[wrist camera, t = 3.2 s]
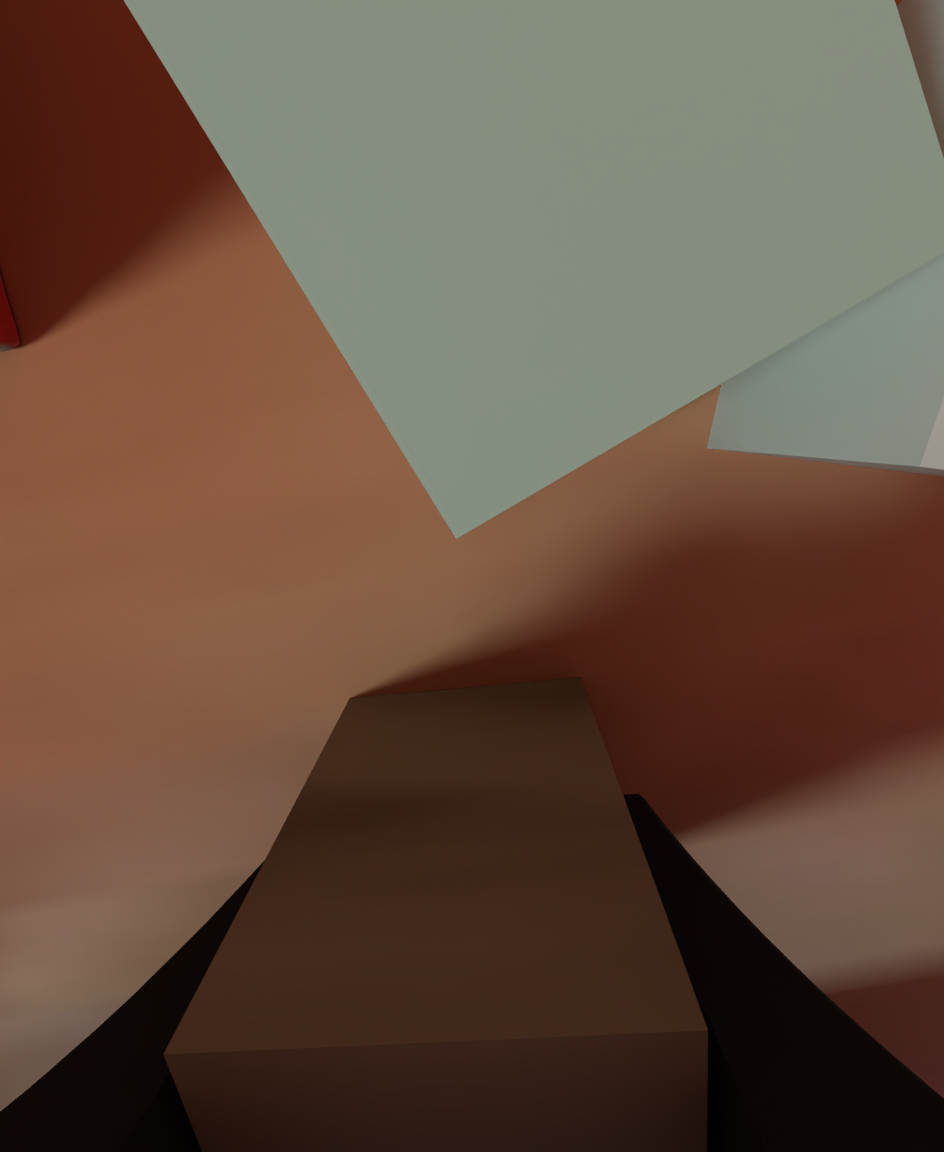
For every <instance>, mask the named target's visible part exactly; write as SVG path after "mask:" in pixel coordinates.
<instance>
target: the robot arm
mask: <svg viewBox="0 0 944 1152" xmlns="http://www.w3.org/2000/svg"><path fill="white" fill-rule="evenodd" d="M623 796H624V799H625V802H626V805H627V807H628V810H629V813H630V816H631V819H632V821H633V824H634V827H635V830H636V832H637V835H638V838H639V841H640V843H641V846H642V849H643V852H644V854H645V857H646V860H647V863H648V866H649V868H650V871H651V874H652V877H653V879H654V882H655V885H656V888H657V890H658V893H659V896H660V899H661V901H662V904H663V907H664V910H665V912H666V915H667V918H668V921H669V924H670V926H671V929H672V932H673V935H674V937H675V940H676V943H677V946H678V948H679V951H680V954H681V957H682V959H683V962H684V965H685V968H686V971H687V973H688V976H689V979H690V982H691V984H692V987H693V990H694V993H695V995H696V998H697V1001H698V1004H699V1006H700V1009H701V1012H702V1015H703V1018H704V1020H705V1023H706V1026H707V1029H708V1096H707V1152H944V1098H943V1097H941V1096H940V1095H939V1094H938V1093H937V1092H935V1091H934V1090H933V1089H932V1088H931V1087H930V1086H928V1085H927V1084H926V1083H925V1082H924V1081H923V1080H921V1079H920V1078H919V1077H918V1076H917V1075H916V1074H914V1073H913V1072H912V1071H911V1070H910V1069H909V1068H907V1067H906V1066H905V1065H904V1064H903V1063H901V1062H900V1061H899V1060H898V1059H897V1058H896V1057H894V1056H893V1055H892V1054H891V1053H890V1052H889V1051H887V1050H886V1049H885V1048H884V1047H883V1046H882V1045H881V1044H879V1043H878V1042H877V1041H876V1040H875V1039H874V1038H873V1037H872V1036H870V1035H869V1034H868V1033H867V1032H866V1031H865V1030H864V1029H863V1028H862V1027H860V1026H859V1025H858V1024H857V1023H856V1022H855V1021H854V1020H853V1019H851V1018H850V1017H849V1016H848V1015H847V1014H846V1013H845V1012H844V1011H843V1010H841V1009H840V1008H839V1007H838V1006H837V1005H836V1004H835V1003H834V1002H833V1001H832V1000H831V999H830V998H828V997H827V996H826V995H825V994H824V993H823V992H822V991H821V990H820V989H819V988H818V987H817V986H816V985H815V984H813V983H812V982H811V981H810V980H809V979H808V978H807V977H806V976H805V975H804V974H803V973H802V972H801V971H800V970H799V969H798V968H797V967H796V966H795V965H794V964H793V963H792V962H791V961H790V960H789V959H788V958H787V957H786V956H785V955H784V954H783V953H782V952H781V951H780V950H779V949H778V948H777V947H776V946H775V945H774V944H773V943H772V942H771V941H770V940H769V939H768V938H767V937H766V936H765V935H764V934H762V932H761V931H760V930H759V929H758V928H757V927H756V926H755V925H754V924H753V923H752V922H751V921H750V920H749V919H748V918H747V917H746V916H745V915H744V914H743V913H742V912H741V911H740V910H739V909H738V907H737V906H736V905H735V904H734V903H733V902H732V901H731V900H730V899H729V898H728V897H727V895H726V894H725V893H724V892H723V891H722V890H721V889H720V888H719V887H718V886H717V885H716V884H715V882H714V881H713V880H712V879H711V878H710V877H709V876H708V875H707V874H706V873H705V871H704V870H703V869H702V868H701V867H700V866H699V865H698V864H697V862H696V861H695V860H694V859H693V858H692V857H691V855H690V854H689V853H688V852H687V851H686V850H685V848H684V847H683V846H682V845H681V844H680V843H679V841H678V840H677V839H676V838H675V837H674V835H673V834H672V833H671V832H670V830H669V829H668V828H667V827H666V826H665V824H664V823H663V822H662V821H661V819H660V818H659V817H658V816H657V814H656V813H655V812H654V810H653V809H652V808H651V807H650V805H649V804H648V803H647V801H646V800H645V799H644V798H643V797H642V796H640V795H639V794H629V795H623ZM263 863H264V862H263ZM263 863H262V864H261V865H260V866H259V867H258V868H257V869H256V870H255V871H254V872H253V874H252V875H251V876H250V877H249V878H248V879H247V880H246V881H245V882H244V883H243V884H242V885H241V886H240V888H239V889H238V890H237V891H236V892H235V893H234V894H233V895H232V896H231V897H230V898H229V899H228V900H227V901H226V902H225V903H224V905H223V906H222V907H221V908H220V909H219V910H218V911H217V912H216V913H215V914H214V915H213V916H212V917H211V918H210V919H209V920H208V921H207V923H206V924H205V925H204V926H203V927H202V928H201V929H200V930H199V931H198V932H197V933H196V934H195V935H194V936H193V937H192V938H191V939H190V940H189V941H188V942H187V943H186V944H185V945H184V946H183V947H182V948H181V949H180V950H179V951H178V952H176V953H175V954H174V955H173V956H172V957H171V958H170V959H169V960H168V961H167V962H166V963H165V964H164V965H163V966H162V967H161V968H160V969H159V970H158V971H157V972H156V973H155V974H154V975H153V976H152V977H151V978H150V979H149V980H148V981H147V982H146V983H145V984H144V985H143V986H142V987H141V988H140V989H139V990H138V991H137V992H136V993H135V994H134V995H133V996H132V997H131V998H130V999H129V1000H128V1001H127V1002H125V1003H124V1004H123V1005H122V1006H121V1007H120V1008H119V1009H118V1010H117V1011H116V1012H115V1013H114V1014H113V1015H111V1016H110V1017H109V1018H108V1019H107V1020H106V1021H105V1022H104V1023H103V1024H102V1025H101V1026H99V1027H98V1028H97V1029H96V1030H95V1031H94V1032H93V1033H92V1034H91V1035H89V1036H88V1037H87V1038H86V1039H85V1040H84V1041H83V1042H82V1043H80V1044H79V1045H78V1046H77V1047H76V1048H75V1049H74V1050H72V1051H71V1052H70V1053H69V1054H68V1055H67V1056H66V1057H64V1058H63V1059H62V1060H61V1061H60V1062H59V1063H58V1064H57V1065H55V1066H54V1067H53V1068H52V1069H51V1070H50V1071H49V1072H47V1073H46V1074H45V1075H44V1076H43V1077H42V1078H40V1079H39V1080H38V1081H37V1082H36V1083H35V1084H33V1085H32V1086H31V1087H30V1088H29V1089H28V1090H26V1091H25V1092H24V1093H23V1094H22V1095H20V1096H19V1097H18V1098H17V1099H15V1100H14V1101H13V1102H12V1103H10V1104H9V1105H8V1106H7V1107H5V1108H4V1109H3V1110H2V1111H1V1112H0V1152H202V1150H201V1148H200V1145H199V1143H198V1140H197V1138H196V1135H195V1133H194V1130H193V1128H192V1125H191V1123H190V1120H189V1118H188V1115H187V1113H186V1110H185V1108H184V1105H183V1103H182V1100H181V1098H180V1095H179V1092H178V1090H177V1087H176V1085H175V1082H174V1080H173V1077H172V1075H171V1072H170V1070H169V1067H168V1065H167V1062H166V1060H165V1057H164V1055H163V1054H164V1052H165V1050H166V1048H167V1046H168V1045H169V1043H170V1041H171V1039H172V1037H173V1035H174V1033H175V1031H176V1029H177V1027H178V1025H179V1024H180V1022H181V1020H182V1018H183V1016H184V1014H185V1012H186V1010H187V1008H188V1006H189V1004H190V1003H191V1001H192V999H193V997H194V995H195V993H196V991H197V989H198V987H199V985H200V983H201V982H202V980H203V978H204V976H205V974H206V972H207V970H208V968H209V966H210V964H211V962H212V961H213V959H214V957H215V955H216V953H217V951H218V949H219V947H220V945H221V943H222V941H223V940H224V938H225V936H226V934H227V932H228V930H229V928H230V926H231V924H232V922H233V920H234V918H235V917H236V915H237V913H238V911H239V909H240V907H241V905H242V903H243V901H244V899H245V897H246V896H247V894H248V892H249V890H250V888H251V886H252V884H253V882H254V880H255V878H256V876H257V875H258V873H259V871H260V869H261V867H262V865H263Z"/></svg>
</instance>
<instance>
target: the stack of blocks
mask: <svg viewBox="0 0 944 1152" xmlns="http://www.w3.org/2000/svg"><path fill="white" fill-rule="evenodd" d="M19 344H20V342H19V337H18V332H17V328H16V325H15V322H14V319H13V316H12V313H11V309H10V306H9V303H8V300H7V296H6V293H5V289H4V286H3V282H2V278H1V275H0V351H6V350H10V349H12V348H14V347H16V346H18V345H19Z"/></svg>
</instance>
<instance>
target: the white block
mask: <svg viewBox="0 0 944 1152" xmlns="http://www.w3.org/2000/svg"><path fill="white" fill-rule="evenodd" d="M897 9H898V13H899V16H900V19H901V22H902V26H903V29H904V32H905V35H906V38H907V42H908V45H909V48H910V51H911V55H912V58H913V61H914V64H915V67H916V71H917V74H918V77H919V80H920V84H921V87H922V90H923V93H924V97H925V100H926V103H927V106H928V109H929V113H930V116H931V119H932V122H933V126H934V129H935V132H936V135H937V139H938V142H939V145H940V148H941V151H942V155H943V158H944V0H902V1H901V2H900V3H899V4H898V5H897ZM707 448H710V449H718V450H726V451H735V452H743V453H751V454H759V455H768V456H776V457H784V458H793V459H801V460H809V461H818V462H826V463H834V464H843V465H851V466H859V467H868V468H876V469H884V470H893V471H901V472H909V473H918V474H926V475H934V476H943V477H944V254H942V255H940V256H938V257H937V258H935V259H933V260H932V261H930V262H928V263H926V264H925V265H923V266H921V267H920V268H918V269H916V270H914V271H913V272H911V273H909V274H908V275H906V276H904V277H903V278H901V279H899V280H897V281H896V282H894V283H892V284H891V285H889V286H887V287H885V288H884V289H882V290H880V291H879V292H877V293H875V294H874V295H872V296H870V297H868V298H867V299H865V300H863V301H862V302H860V303H858V304H856V305H855V306H853V307H851V308H850V309H848V310H846V311H844V312H843V313H841V314H839V315H838V316H836V317H834V318H833V319H831V320H829V321H827V322H826V323H824V324H822V325H821V326H819V327H817V328H815V329H814V330H812V331H810V332H809V333H807V334H805V335H804V336H802V337H800V338H798V339H797V340H795V341H793V342H792V343H790V344H788V345H786V346H785V347H783V348H781V349H780V350H778V351H776V352H774V353H773V354H771V355H769V356H768V357H766V358H764V359H763V360H761V361H759V362H757V363H756V364H754V365H752V366H751V367H749V368H747V369H745V370H744V371H742V372H740V373H739V374H737V375H735V376H733V377H732V378H730V379H728V380H727V381H725V382H723V383H722V386H721V390H720V394H719V398H718V403H717V407H716V411H715V415H714V420H713V424H712V428H711V432H710V436H709V441H708V445H707Z"/></svg>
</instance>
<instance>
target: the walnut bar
mask: <svg viewBox="0 0 944 1152" xmlns="http://www.w3.org/2000/svg"><path fill="white" fill-rule="evenodd" d="M163 1055H164V1057H165V1060H166V1062H167V1065H168V1067H169V1070H170V1072H171V1075H172V1077H173V1080H174V1082H175V1085H176V1087H177V1090H178V1092H179V1095H180V1098H181V1100H182V1103H183V1105H184V1108H185V1110H186V1113H187V1115H188V1118H189V1120H190V1123H191V1125H192V1128H193V1130H194V1133H195V1135H196V1138H197V1140H198V1143H199V1145H200V1148H201V1150H202V1152H707V1096H708V1029H707V1026H706V1023H705V1020H704V1018H703V1015H702V1012H701V1009H700V1006H699V1004H698V1001H697V998H696V995H695V993H694V990H693V987H692V984H691V982H690V979H689V976H688V973H687V971H686V968H685V965H684V962H683V959H682V957H681V954H680V951H679V948H678V946H677V943H676V940H675V937H674V935H673V932H672V929H671V926H670V924H669V921H668V918H667V915H666V912H665V910H664V907H663V904H662V901H661V899H660V896H659V893H658V890H657V888H656V885H655V882H654V879H653V877H652V874H651V871H650V868H649V866H648V863H647V860H646V857H645V854H644V852H643V849H642V846H641V843H640V841H639V838H638V835H637V832H636V830H635V827H634V824H633V821H632V819H631V816H630V813H629V810H628V807H627V805H626V802H625V799H624V796H623V794H622V791H621V788H620V785H619V783H618V780H617V777H616V774H615V772H614V769H613V766H612V763H611V760H610V758H609V755H608V752H607V749H606V747H605V744H604V741H603V738H602V736H601V733H600V730H599V727H598V725H597V722H596V719H595V716H594V713H593V711H592V708H591V705H590V702H589V700H588V697H587V694H586V691H585V689H584V686H583V683H582V680H581V678H580V677H579V678H568V679H557V680H546V681H535V682H523V683H512V684H501V685H490V686H479V687H468V688H457V689H446V690H435V691H423V692H412V693H401V694H390V695H379V696H368V697H357V698H350V699H349V701H348V703H347V705H346V706H345V708H344V710H343V712H342V714H341V716H340V718H339V720H338V722H337V724H336V726H335V727H334V729H333V731H332V733H331V735H330V737H329V739H328V741H327V743H326V745H325V747H324V749H323V750H322V752H321V754H320V756H319V758H318V760H317V762H316V764H315V766H314V768H313V770H312V771H311V773H310V775H309V777H308V779H307V781H306V783H305V785H304V787H303V789H302V791H301V792H300V794H299V796H298V798H297V800H296V802H295V804H294V806H293V808H292V810H291V812H290V813H289V815H288V817H287V819H286V821H285V823H284V825H283V827H282V829H281V831H280V833H279V834H278V836H277V838H276V840H275V842H274V844H273V846H272V848H271V850H270V852H269V854H268V855H267V857H266V859H265V861H264V863H263V865H262V867H261V869H260V871H259V873H258V875H257V876H256V878H255V880H254V882H253V884H252V886H251V888H250V890H249V892H248V894H247V896H246V897H245V899H244V901H243V903H242V905H241V907H240V909H239V911H238V913H237V915H236V917H235V918H234V920H233V922H232V924H231V926H230V928H229V930H228V932H227V934H226V936H225V938H224V940H223V941H222V943H221V945H220V947H219V949H218V951H217V953H216V955H215V957H214V959H213V961H212V962H211V964H210V966H209V968H208V970H207V972H206V974H205V976H204V978H203V980H202V982H201V983H200V985H199V987H198V989H197V991H196V993H195V995H194V997H193V999H192V1001H191V1003H190V1004H189V1006H188V1008H187V1010H186V1012H185V1014H184V1016H183V1018H182V1020H181V1022H180V1024H179V1025H178V1027H177V1029H176V1031H175V1033H174V1035H173V1037H172V1039H171V1041H170V1043H169V1045H168V1046H167V1048H166V1050H165V1052H164V1054H163Z"/></svg>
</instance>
